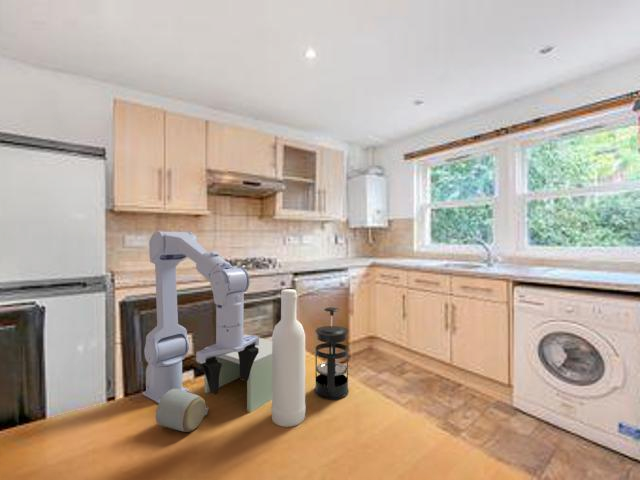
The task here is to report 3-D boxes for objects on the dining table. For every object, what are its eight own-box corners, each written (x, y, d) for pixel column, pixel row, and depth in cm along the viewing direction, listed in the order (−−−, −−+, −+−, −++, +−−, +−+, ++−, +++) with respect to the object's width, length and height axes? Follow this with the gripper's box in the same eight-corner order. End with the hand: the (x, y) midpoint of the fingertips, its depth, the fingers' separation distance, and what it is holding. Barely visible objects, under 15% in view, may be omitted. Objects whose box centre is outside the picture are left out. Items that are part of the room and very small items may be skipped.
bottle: (268, 427, 69) (269, 293, 69) (274, 408, 77) (274, 287, 77) (304, 427, 69) (304, 293, 69) (306, 408, 77) (306, 287, 77)
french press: (316, 381, 91) (316, 303, 91) (348, 382, 91) (348, 304, 91) (312, 402, 80) (312, 313, 80) (349, 404, 79) (349, 314, 79)
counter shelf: (204, 391, 85) (204, 348, 85) (245, 372, 98) (245, 334, 98) (250, 412, 75) (250, 362, 75) (290, 387, 88) (290, 345, 88)
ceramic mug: (184, 441, 64) (185, 403, 65) (154, 433, 67) (154, 397, 67) (217, 414, 75) (217, 382, 75) (189, 408, 77) (189, 377, 77)
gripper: (209, 335, 59) (209, 406, 59) (267, 320, 70) (267, 379, 71) (191, 328, 64) (190, 394, 64) (248, 315, 75) (248, 371, 75)
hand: (229, 385), depth 68 cm, fingers open, 7 cm apart
